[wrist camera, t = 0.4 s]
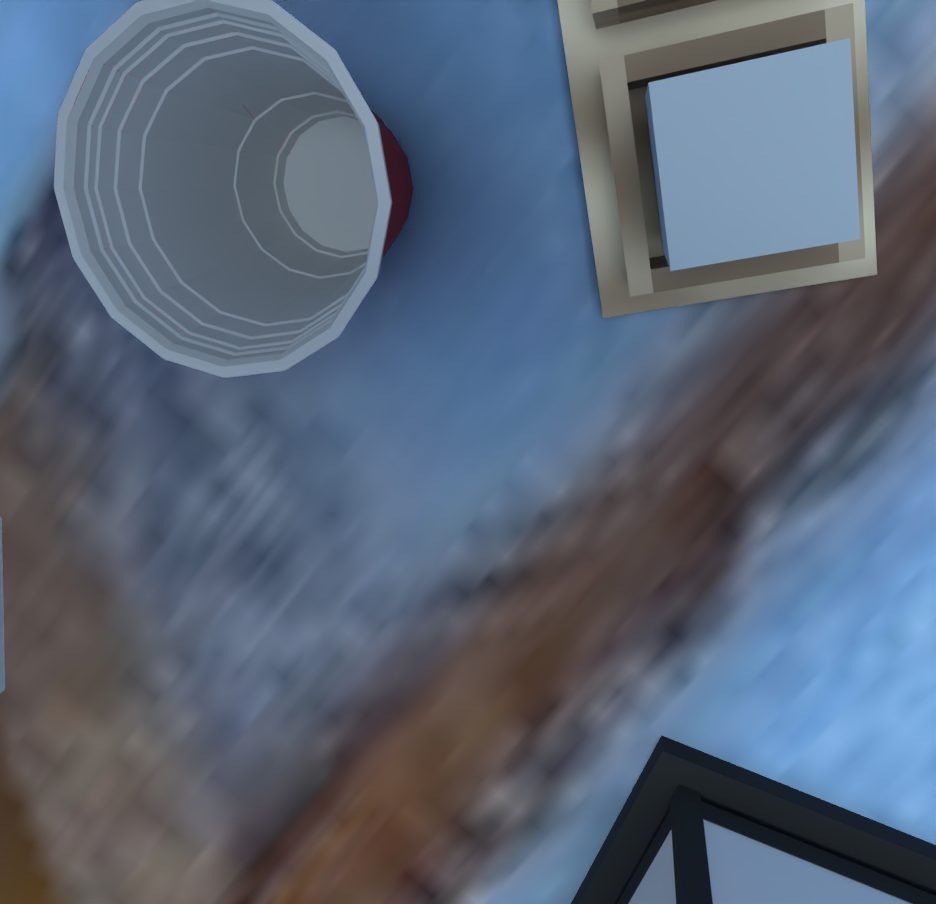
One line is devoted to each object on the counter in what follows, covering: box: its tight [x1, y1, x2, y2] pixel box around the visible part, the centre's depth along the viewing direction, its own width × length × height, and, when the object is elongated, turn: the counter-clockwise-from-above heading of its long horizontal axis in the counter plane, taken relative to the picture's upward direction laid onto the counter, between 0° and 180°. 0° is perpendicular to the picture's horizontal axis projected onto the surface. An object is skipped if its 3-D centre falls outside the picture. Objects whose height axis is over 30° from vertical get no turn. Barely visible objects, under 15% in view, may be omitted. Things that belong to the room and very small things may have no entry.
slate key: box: [644, 38, 860, 271], centre depth 25 cm, size 5×5×6 cm
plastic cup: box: [54, 0, 413, 378], centre depth 29 cm, size 11×11×12 cm
